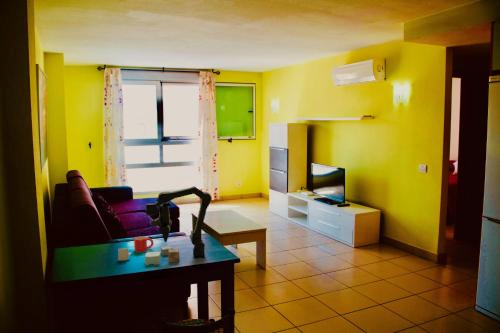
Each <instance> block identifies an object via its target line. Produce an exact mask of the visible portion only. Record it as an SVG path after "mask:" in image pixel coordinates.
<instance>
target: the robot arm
mask: <svg viewBox="0 0 500 333" xmlns="http://www.w3.org/2000/svg"><path fill="white" fill-rule="evenodd" d="M189 195H190V196H191V195H195V196H197V197H198V198H199V200H200V201H199V205H200V206H199V210H198V213H197V214H198V215H197V218H196V222H195V226H194V229H193V230H190V235H189V239H190V241H191V244H192V245H193V248H192V256H193V258H194V259H198V258H199V259H201V258H206V255H205V254H206V252H205V251H206V250H205V247H206V246H205V245H206V244H205V242H204V240H202V237H203V236H202V231H203V230H202V229H203V226H204V223H205V222H204V221H205V218H206V213H207V210H208V208H209V206H210V204H211V201H212V195H211V194H210V193H209V192H207V191H203V190H201V189H200V188H197V187H196V186H191V187H187V188H182V189H180V190H179V189H178V190H174V191H162V192H159V193H158V195H157V199H156V201H155V203H145V214H146V215H145V216H156V215H157V214H159V216H158V218H155V219H152V220H150V222H149V224H150V227H151V228H152V229H153V228H155V227H157V226H158V228H157V229H158V233H159V234H160V235H162V238H163V241H164V243H167V242H168V239H169V235H170V232H171V228H172V223H173V222H172V219H170V218H171V217H170V215H171V214H170V209H169V208H170V207H172V206H173V204H172V203H171V201H172V200H175V199H178V198H182V197H185V196H189Z"/></svg>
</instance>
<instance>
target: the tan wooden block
mask: <svg viewBox="0 0 500 333" xmlns="http://www.w3.org/2000/svg"><path fill="white" fill-rule="evenodd" d="M169 249H174V248H173V247H172V246H171V245H166V246H161V247H160V254H161V253H162V254H161V255H162V256H164V255H165V256H168V251H169ZM165 256H164V257H165Z"/></svg>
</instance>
